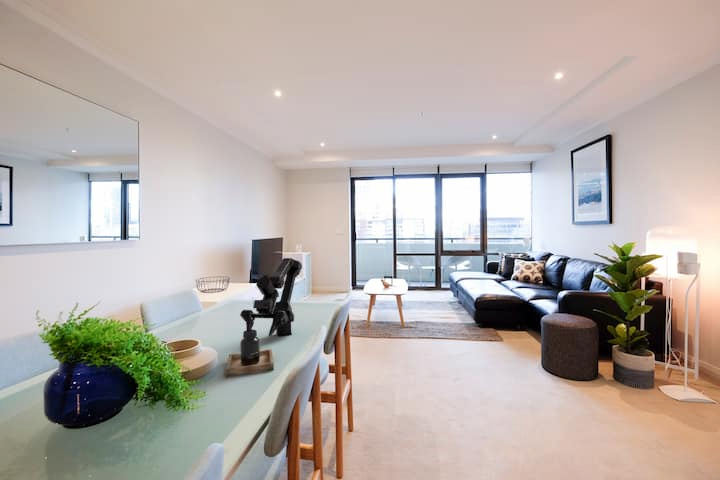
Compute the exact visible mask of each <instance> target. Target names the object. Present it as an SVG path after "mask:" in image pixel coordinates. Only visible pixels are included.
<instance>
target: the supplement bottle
mask: <svg viewBox="0 0 720 480" xmlns="http://www.w3.org/2000/svg"><path fill="white" fill-rule="evenodd" d="M257 333H258V332H257V330H256V329H251V330H247V329H246V330H244V331H243V333H242V334H243V335H242V337H243V338H242V339H241V341H240V353H241V364H242V365H243V366H249V365H256V364H257V363H259V361H260V350H261V349H260V346H261V345H260V344H261V343H260V338H259V336H257V335H258V334H257Z"/></svg>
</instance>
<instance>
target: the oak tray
mask: <svg viewBox="0 0 720 480" xmlns="http://www.w3.org/2000/svg"><path fill="white" fill-rule="evenodd" d="M273 356H274V355H273V349H272V348H268V349H260V361H259V363H257V364H256V365H249V366H243V365H242V364H241V352H238V353H229V354H228V358H227V363H226V368H225V378H229V377H235V376H236V377H237V376H241V375H248V374H249V375H250V374H255V373H256V374H257V373H261V372H267V371H268V372H269V371H274V369H275V368H274V367H275V365H274V357H273Z"/></svg>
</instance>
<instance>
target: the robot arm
mask: <svg viewBox="0 0 720 480" xmlns="http://www.w3.org/2000/svg"><path fill="white" fill-rule="evenodd" d="M302 269H303V264H302V263H301V262H300V261H299V260H296V259H294V258H292V257H291V258H290V257H284V258H282V260H281V263H280V264H279V265H278V267H277V268H276V270H275V272H272V273H269V274H267V275H266V274H264V275H263V276H262V277H260V278H259V279H258V280H257V281H256V284H255V285H256V287H257V289H258V291H259V292H260V294H261V295H263V296H262V299H254V301H253V307H252V308H253V309H255V311H256V312H253V310H252V309H243V310H241V312H240V315H239V316H240V317H241V319H243V321H244V322H245V326H246V330H253V327H254V325H255V324H254V323H255V320H256V319H272V323H271V326H270V328H269V331H268V337H269V338H270V337H272V335H273V334H274V332H276V334H277V336H278V337H283V336H291V335H293V333H292V323H293V322H294V321H295V314H294V312H293V308H292V306H291V299H292V296H293V290H294V286H295V281H296V278H297V277H298V276H299V275H300V273H301V270H302ZM277 289H282V292H281V297H280V293H279V291H278V290H277ZM279 297H280V300H279V301H277V298H279Z"/></svg>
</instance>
